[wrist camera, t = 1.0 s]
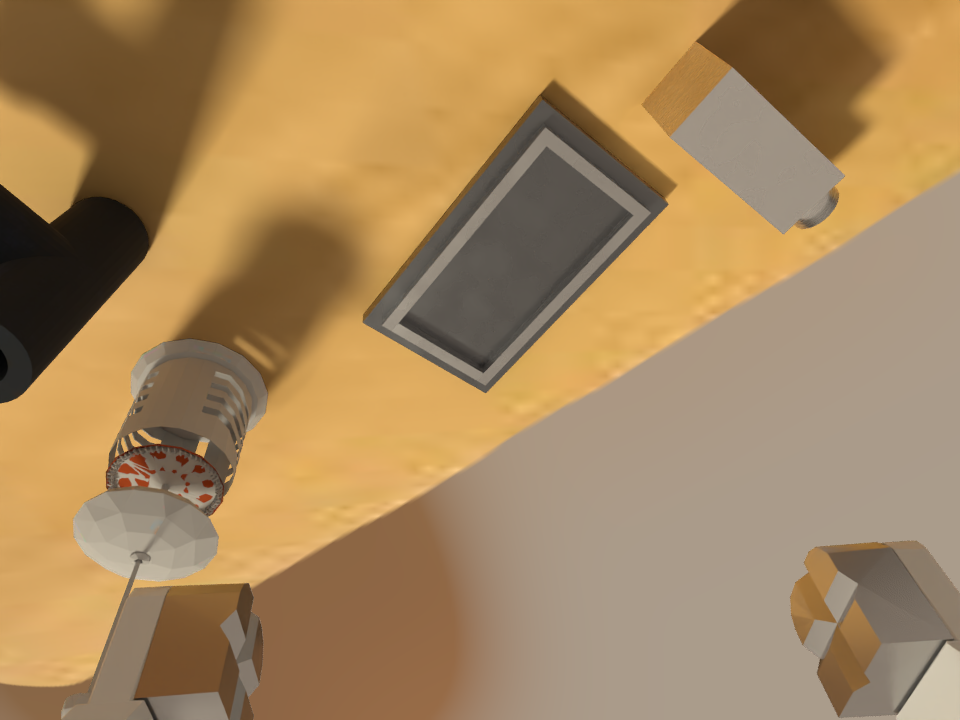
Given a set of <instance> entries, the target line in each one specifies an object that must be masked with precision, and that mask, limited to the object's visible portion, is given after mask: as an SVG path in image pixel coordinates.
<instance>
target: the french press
mask: <svg viewBox="0 0 960 720" xmlns="http://www.w3.org/2000/svg"><path fill="white" fill-rule="evenodd" d="M131 394H132V395H133V397H134V399H135V400H134V402H133V405H132V407H131V409H130V410H129V412H128V415H127V417H126V419H125V421H126V422H125V421H124V423H123V425H122V427H121V430H120V432H119V433H118V435H117V437H116V440H115V442H114V444H113V446H112V448H111V451H110V453H109V464H108V469H107V471H106V488H107V489H108V491H106V492H104V493H102V494H100V495H98V496H96V497H94V498H92V499H90V500H88V501H87V502H85V503H84V504H83V506H82V507H81V509H80V510H79V511H78V513H77V514H76V516H75V517H74V519H73V526H74V538H75V540H76V541H77V543H78V544H79V546H80V547H81V549H82V550H83V552H84V553H85V555H87V556H88V557H90V558H91V559H92V560H94V561H95V562H97V563H98V564H99V565H101V566H102V567H104V568H105V569H107V570H109V571H111V572H113V573H116V574H118V575H120V576H122V577H126V578H130V579H129V582H128V585H127V588H126V590H125V593H124V596H123V598H122V601H121V604H120V606H119V609H118V612H117V615H116V617H115V620H114V623H113V625H112V628H111V631H110V633H109V636H108V639H107V641H106V644H105V647H104V650H103V652H102V655H101V658H100V660H99V663H98V666H97V668H96V671H95V674H94V677H93V679H92V682H91V685H90V687H89V690H88V693H79V694H74V695H72V696H70V697H68V698H67V699H66V700H65V703H64V706H63V709H62V711H61V714H62V716H61V718H63V717H64V716H65V715H66V714H67V713H68V712H69V711H70V710H71V709H72V708H73V707H74V706H75V705H78V704H87V703H88V701H89V698H90V696H91V693H92V690H93V688H94V685H95V682H96V679H97V677H98V674H99V671H100V669H101V666H102V663H103V660H104V658H105V655H106V652H107V650H108V647H109V644H110V641H111V639H112V636H113V633H114V631H115V628H116V625H117V622H118V620H119V617H120V614H121V612H122V609H123V606H124V603H125V601H126V599H127V598H128V596H129V593H130V590H131V587H132V585H133V582H134V579H139V580H149V581H166V580H173V579H180V578H185V577H187V576H189V575H191V574H193V573H195V572H198V571H200V570H202V569H204V568H205V567H206V566H207V565H208V563H209V562H210V561H211V560H212V559H213V558H214V556H215V555H216V554H217V546H218V538H219V536H218V534H217V532H216V530H215V528H214V526H213V524H212V522H211V520H210V519H209V517H208V516H210V515H212V514H213V513H214V512H215V511H216V509H217V508H218V507H219V506H220V504H221V503H222V502H223V497H224V496H225V495H226V494H227V492H228V490H229V488H230V486H231V484H232V482H233V479H234V476H235V473H236V466H237V464H238V461H239V457H240V452H241V449H242V446H243V440H244V438H245V435H246V432H248V431H250V430H252V429H253V428H254V427H255V426H256V424H257V423H258V422H259V420H260V419H261V418H262V417H263V415H264V414H265V411H266V404H267V397H268V392H267V390H266V387H265V384H264V382H263V379H262V377H261V374H260V373H259V372H258V371H257V370H256V369H255V368H254V367H253V366H252V365H251V363H250V362H249V361H248V360H247V359H246V358H245V357H244V356H242V355H240V354H238V353H236V352H234V351H232V350H230V349H228V348H226V347H225V346H223V345H221V344H219V343H213V342H207V341H201V340H196V339H183V340H177V341H170V342H163V343H161V344H160V345H158V346H156V347H154V348H153V349H151V350H149V351H147V352H146V353H144V354H142V356H141V357H140V359H139V361H138V362H137V364H136V365H135V367H134V369H133V370H132V372H131ZM135 402H136V403H135ZM134 409H135V414H133V410H134ZM130 413H131V416H129V415H130ZM140 429H142V430H143V431H144V432H146V433H147V434H148V435H149V436H151V437H153V438H156V439H159V440H162V442H161V444H154V443H150V442H148V441H147V440H146V439H145V438H143V437H142V436H141V435H140V434H138V433H137V431H138V430H140ZM130 433H132V435H133V438H134V440H136V441H137V442H138V443H140V444H141V445H142V446H139V447H134V446H133V445H132V444H131V441H130V438H129V436H128V434H130ZM122 437H123V438H124V441H125V444H126V446H127V449H128V451H127V452H125V453H124V451H123V448H122V445H121V438H122ZM241 437H242V440H241V439H240V438H241ZM118 440H119V443H118V448H117V451H118V453H119V456H117V457H116V458H115V452H116V447H117V442H118ZM236 440H237V444H236V445H235V443H236ZM199 441H201V442H209V444H208V447H207V450H206V453H205V456H204V458H203V457H202V456H200V455H198V454H195V452H196V449H197V446H198V443H199ZM240 447H241V448H240ZM237 449H239V451H238V453H237V452H236V450H237ZM237 457H238V460H237ZM230 464H231V466H232V468H230V469H229V465H230ZM228 469H229V470H228ZM232 473H233V476H232V477H231V479H230V481H228V482H226V483H225V479H226V477H227V476H229V475H231V474H232Z"/></svg>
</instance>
